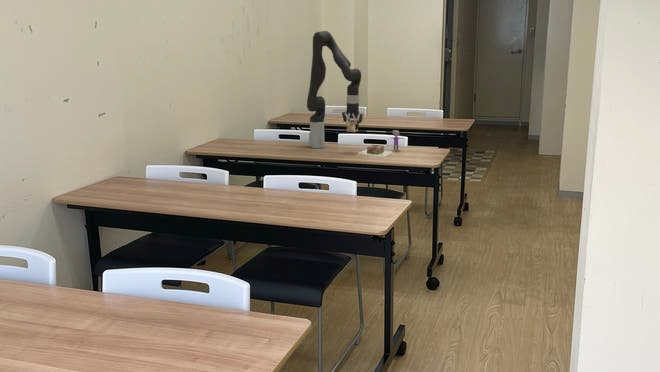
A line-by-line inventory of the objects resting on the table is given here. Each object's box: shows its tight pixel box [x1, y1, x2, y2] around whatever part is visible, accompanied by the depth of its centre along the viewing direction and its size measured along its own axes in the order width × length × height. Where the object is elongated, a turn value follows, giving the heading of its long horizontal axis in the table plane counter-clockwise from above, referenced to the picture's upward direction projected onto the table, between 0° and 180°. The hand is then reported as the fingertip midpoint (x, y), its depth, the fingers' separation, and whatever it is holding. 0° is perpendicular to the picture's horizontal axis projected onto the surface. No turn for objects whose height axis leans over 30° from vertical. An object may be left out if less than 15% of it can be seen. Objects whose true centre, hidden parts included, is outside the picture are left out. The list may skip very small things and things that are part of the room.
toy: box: [392, 129, 405, 152], centre depth 389 cm, size 10×6×15 cm, turn 84°
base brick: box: [366, 143, 385, 155], centre depth 387 cm, size 8×8×4 cm
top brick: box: [346, 119, 359, 133], centre depth 384 cm, size 5×5×7 cm
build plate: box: [357, 148, 393, 158], centre depth 388 cm, size 18×14×2 cm
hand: (352, 129), depth 384 cm, fingers closed on top brick, 5 cm apart
